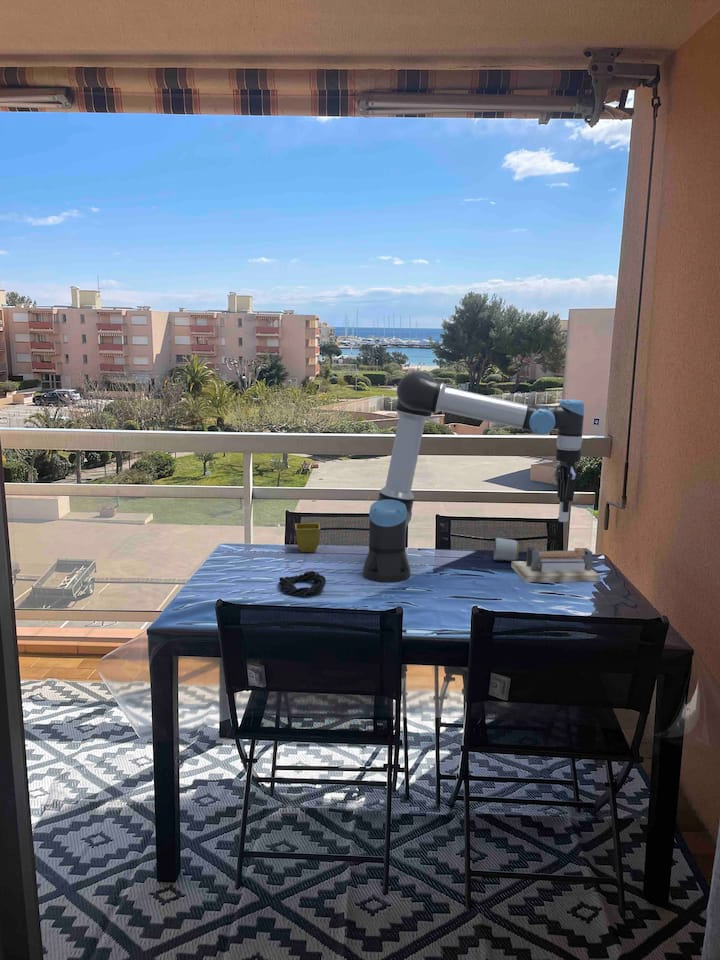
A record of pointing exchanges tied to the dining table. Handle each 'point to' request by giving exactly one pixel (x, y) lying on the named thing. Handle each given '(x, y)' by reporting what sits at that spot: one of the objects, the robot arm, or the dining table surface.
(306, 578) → the cable
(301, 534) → the flower pot
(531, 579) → the board
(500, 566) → the dining table surface
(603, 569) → the dining table surface
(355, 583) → the dining table surface
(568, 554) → the strap
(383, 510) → the robot arm
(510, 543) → the ceramic mug
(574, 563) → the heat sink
